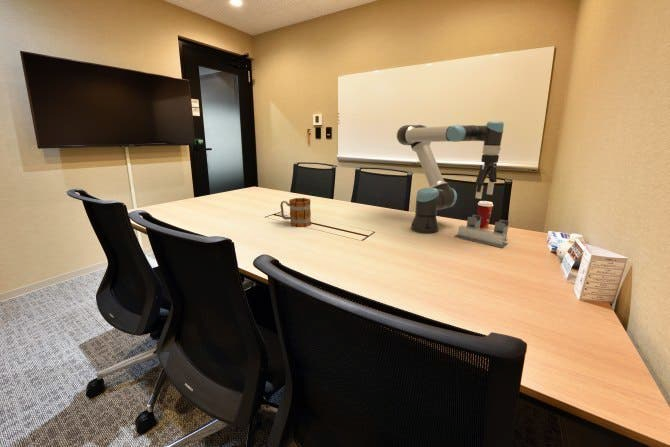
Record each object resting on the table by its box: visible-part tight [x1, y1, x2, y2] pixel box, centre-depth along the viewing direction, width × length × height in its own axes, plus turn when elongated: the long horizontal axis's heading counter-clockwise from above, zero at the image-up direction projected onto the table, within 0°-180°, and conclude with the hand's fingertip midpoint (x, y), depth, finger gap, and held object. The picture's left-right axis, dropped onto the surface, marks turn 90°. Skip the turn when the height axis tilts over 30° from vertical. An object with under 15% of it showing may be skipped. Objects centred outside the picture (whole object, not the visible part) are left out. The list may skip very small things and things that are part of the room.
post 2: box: [493, 219, 510, 241], centre depth 161 cm, size 4×7×10 cm, turn 135°
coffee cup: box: [477, 200, 494, 230], centre depth 182 cm, size 8×8×15 cm
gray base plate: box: [454, 233, 508, 249], centre depth 162 cm, size 24×8×1 cm, turn 45°
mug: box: [280, 197, 312, 228], centre depth 189 cm, size 20×14×15 cm
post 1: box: [466, 214, 481, 229], centre depth 170 cm, size 4×7×10 cm, turn 135°
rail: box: [457, 224, 506, 246], centre depth 161 cm, size 22×4×5 cm, turn 45°
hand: (483, 196), depth 160 cm, fingers open, 13 cm apart
